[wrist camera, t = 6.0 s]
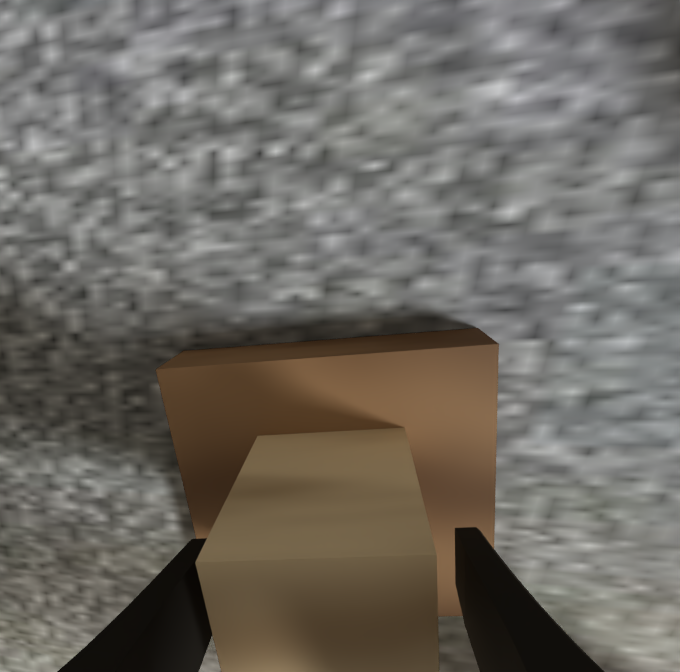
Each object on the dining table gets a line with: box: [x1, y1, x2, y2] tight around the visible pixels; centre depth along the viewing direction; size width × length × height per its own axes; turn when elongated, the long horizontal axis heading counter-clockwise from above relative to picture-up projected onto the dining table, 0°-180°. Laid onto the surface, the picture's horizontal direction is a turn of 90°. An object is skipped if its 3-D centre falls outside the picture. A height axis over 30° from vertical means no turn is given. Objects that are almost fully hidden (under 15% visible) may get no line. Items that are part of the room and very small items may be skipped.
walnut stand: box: [156, 328, 499, 616], centre depth 14 cm, size 11×11×2 cm
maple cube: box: [195, 428, 439, 672], centre depth 11 cm, size 5×5×5 cm
